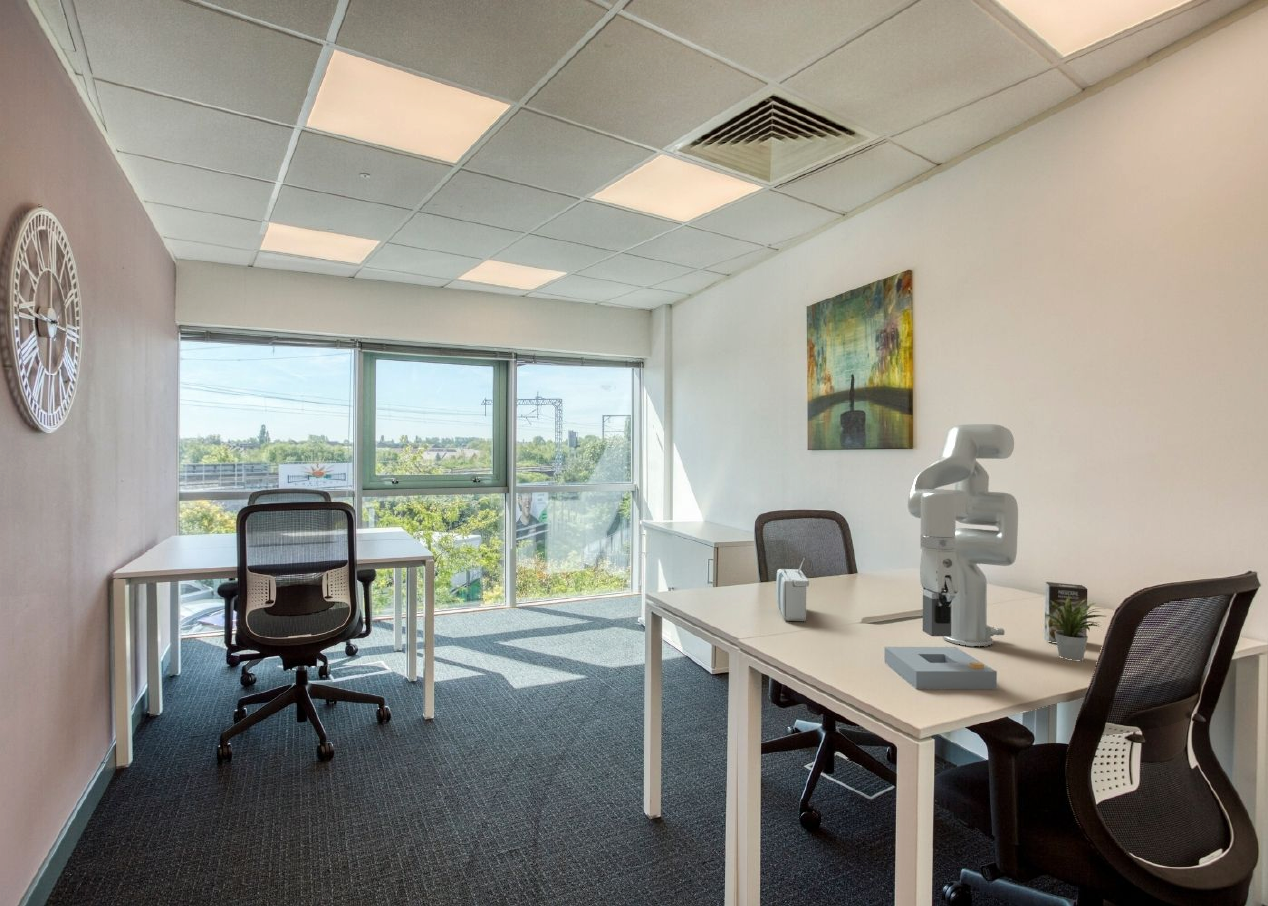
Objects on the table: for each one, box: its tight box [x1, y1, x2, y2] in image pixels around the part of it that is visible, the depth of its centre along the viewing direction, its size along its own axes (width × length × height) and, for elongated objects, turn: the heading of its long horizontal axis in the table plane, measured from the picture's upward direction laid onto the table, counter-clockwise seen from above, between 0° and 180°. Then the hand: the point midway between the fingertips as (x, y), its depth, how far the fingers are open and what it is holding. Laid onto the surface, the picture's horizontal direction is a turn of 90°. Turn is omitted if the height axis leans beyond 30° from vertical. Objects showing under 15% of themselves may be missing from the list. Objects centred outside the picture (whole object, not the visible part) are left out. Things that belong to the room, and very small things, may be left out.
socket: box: [883, 646, 998, 690], centre depth 151 cm, size 18×18×5 cm
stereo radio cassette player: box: [775, 557, 810, 622], centre depth 208 cm, size 21×8×20 cm, turn 173°
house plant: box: [1046, 594, 1106, 660], centre depth 163 cm, size 14×14×16 cm
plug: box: [922, 589, 951, 637], centre depth 151 cm, size 5×5×10 cm
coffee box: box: [1044, 581, 1088, 642], centre depth 178 cm, size 9×6×16 cm
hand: (937, 619), depth 151 cm, fingers closed on plug, 4 cm apart
